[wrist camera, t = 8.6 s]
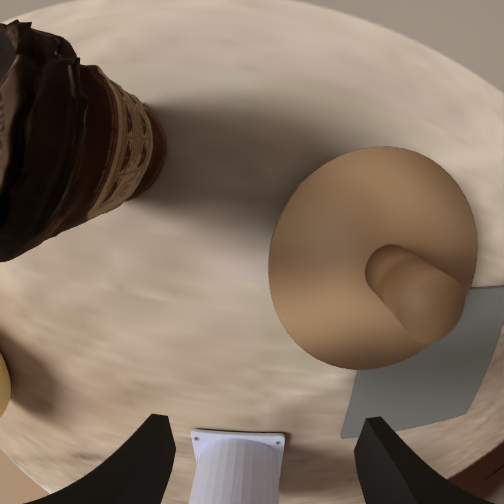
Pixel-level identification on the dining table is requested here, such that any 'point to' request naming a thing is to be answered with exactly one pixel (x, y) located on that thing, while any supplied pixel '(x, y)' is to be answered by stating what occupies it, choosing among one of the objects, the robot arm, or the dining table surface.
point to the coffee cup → (65, 140)
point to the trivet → (432, 372)
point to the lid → (372, 258)
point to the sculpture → (4, 386)
